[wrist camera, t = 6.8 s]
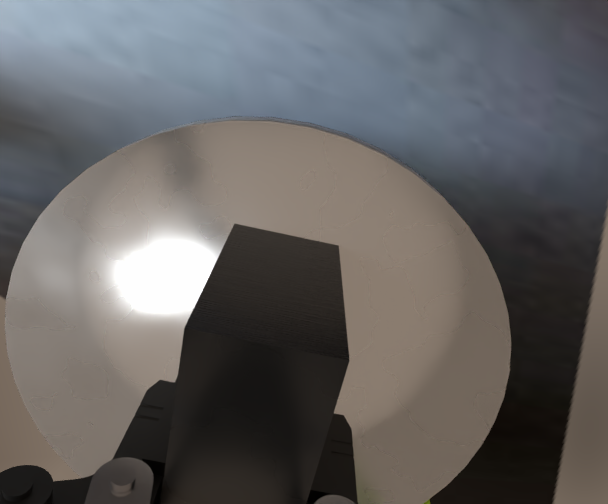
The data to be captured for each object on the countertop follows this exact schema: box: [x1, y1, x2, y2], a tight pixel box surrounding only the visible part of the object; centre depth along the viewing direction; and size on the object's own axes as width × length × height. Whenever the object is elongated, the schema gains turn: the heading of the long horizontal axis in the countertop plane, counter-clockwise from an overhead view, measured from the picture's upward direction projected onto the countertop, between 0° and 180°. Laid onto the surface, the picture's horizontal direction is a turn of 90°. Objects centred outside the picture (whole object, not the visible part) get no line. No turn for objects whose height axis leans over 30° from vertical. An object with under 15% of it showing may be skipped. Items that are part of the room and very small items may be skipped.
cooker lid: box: [5, 116, 511, 504], centre depth 14 cm, size 16×16×6 cm
